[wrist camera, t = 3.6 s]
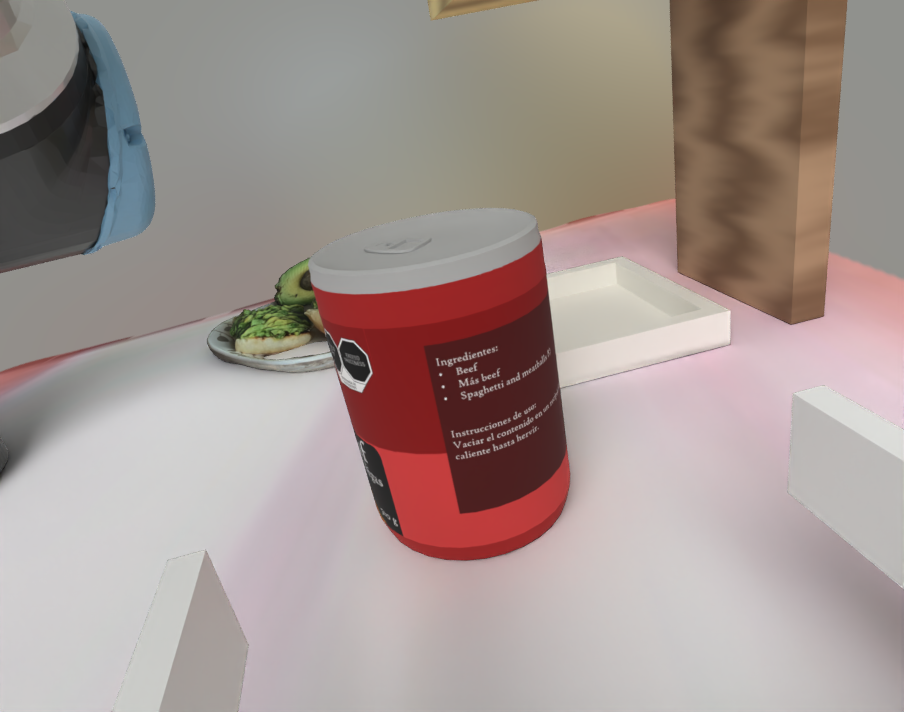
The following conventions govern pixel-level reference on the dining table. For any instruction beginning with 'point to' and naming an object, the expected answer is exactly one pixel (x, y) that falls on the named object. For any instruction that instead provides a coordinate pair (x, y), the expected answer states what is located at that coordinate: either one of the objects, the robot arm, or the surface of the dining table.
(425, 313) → the canned food
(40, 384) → the dining table surface
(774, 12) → the wooden l-shaped stand
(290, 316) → the salad plate
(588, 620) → the dining table surface
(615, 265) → the shallow square white tray
